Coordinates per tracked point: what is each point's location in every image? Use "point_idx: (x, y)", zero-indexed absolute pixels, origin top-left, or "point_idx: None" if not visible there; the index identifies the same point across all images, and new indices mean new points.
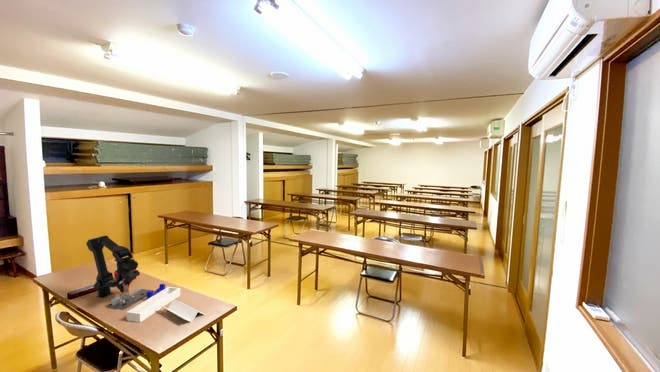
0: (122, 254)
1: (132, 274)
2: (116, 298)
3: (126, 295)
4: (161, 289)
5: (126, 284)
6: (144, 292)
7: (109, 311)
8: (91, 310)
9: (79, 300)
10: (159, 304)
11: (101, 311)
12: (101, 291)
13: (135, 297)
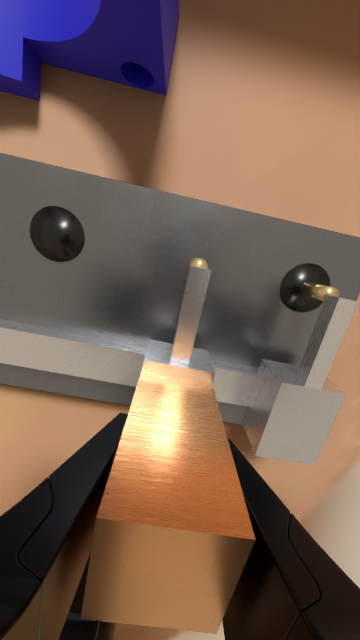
0: None
1: None
2: (304, 415)
3: (194, 358)
4: None
5: (122, 546)
6: (11, 237)
7: (356, 363)
8: (312, 497)
9: (169, 633)
10: None
11: (342, 424)
12: (110, 629)
13: (145, 267)
